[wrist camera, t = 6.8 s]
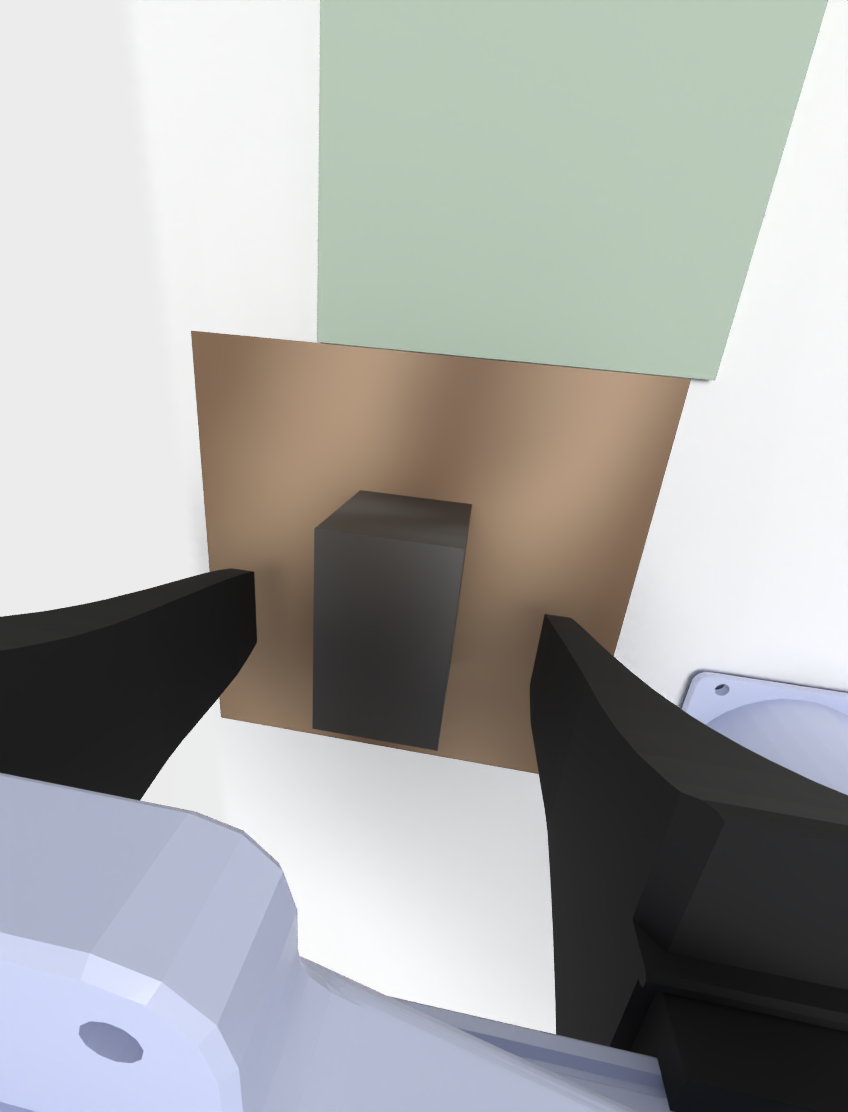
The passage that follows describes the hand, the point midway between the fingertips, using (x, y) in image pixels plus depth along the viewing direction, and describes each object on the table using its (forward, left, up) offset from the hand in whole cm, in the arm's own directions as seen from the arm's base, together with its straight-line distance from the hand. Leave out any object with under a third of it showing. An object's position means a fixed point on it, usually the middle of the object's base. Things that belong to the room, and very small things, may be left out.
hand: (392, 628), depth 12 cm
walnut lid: (0, 0, -3) cm, 3 cm away
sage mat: (-2, -13, -7) cm, 15 cm away
